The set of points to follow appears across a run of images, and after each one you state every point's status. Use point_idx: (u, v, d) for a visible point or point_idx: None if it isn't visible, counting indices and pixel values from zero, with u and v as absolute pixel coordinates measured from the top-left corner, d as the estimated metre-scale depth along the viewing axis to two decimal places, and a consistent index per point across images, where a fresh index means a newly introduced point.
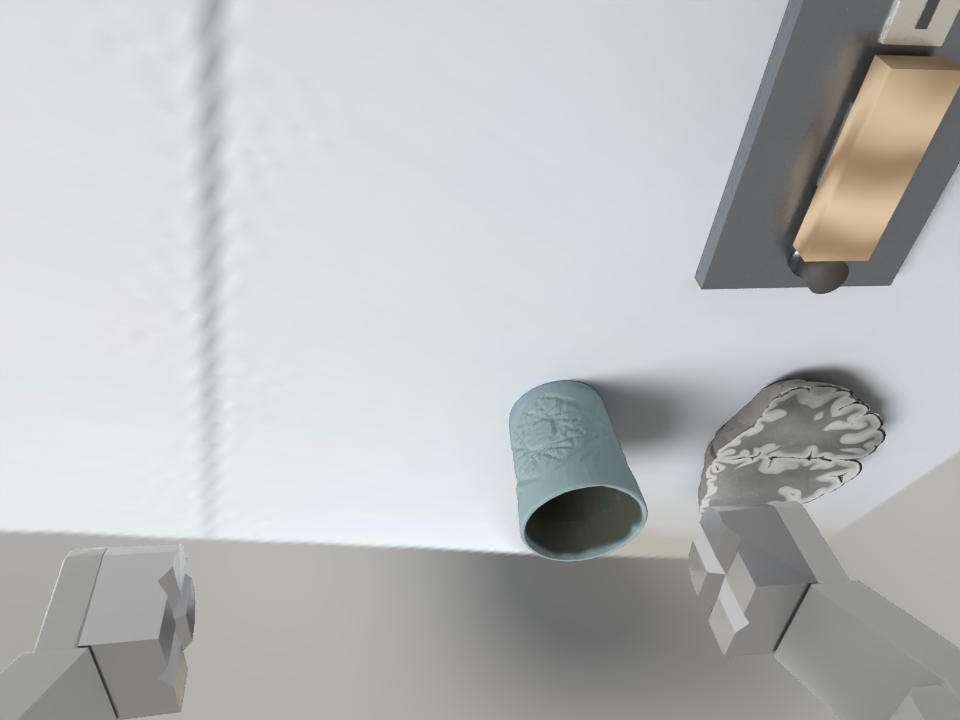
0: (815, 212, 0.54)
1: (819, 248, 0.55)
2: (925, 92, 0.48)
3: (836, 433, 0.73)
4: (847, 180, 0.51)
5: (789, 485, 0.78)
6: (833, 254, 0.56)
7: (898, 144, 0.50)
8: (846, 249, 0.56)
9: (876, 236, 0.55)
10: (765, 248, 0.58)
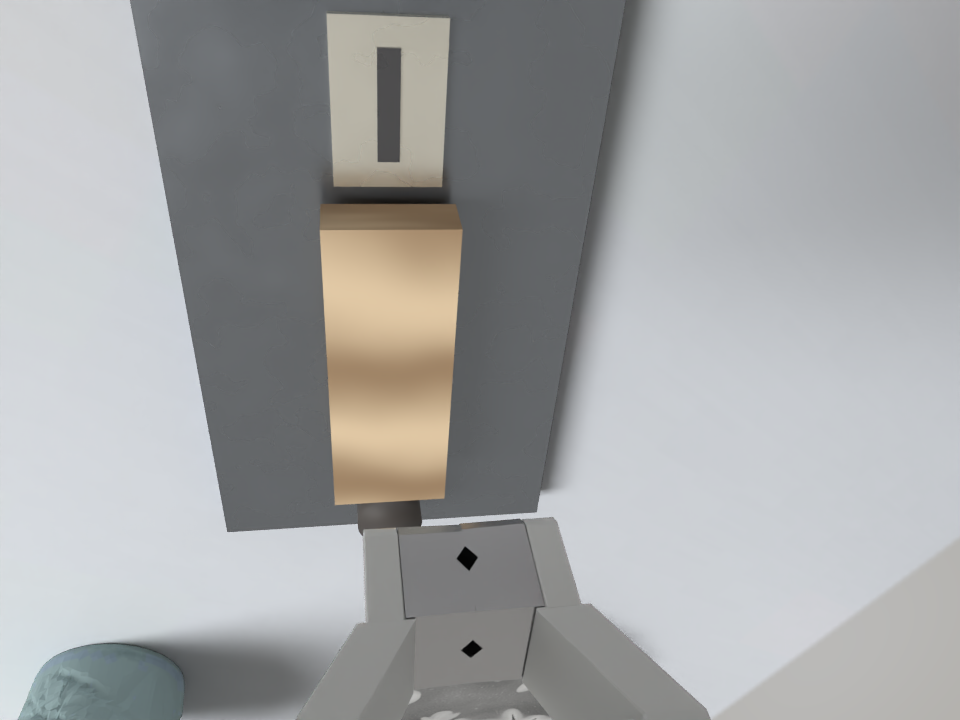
0: None
1: (348, 487, 0.35)
2: (403, 263, 0.29)
3: None
4: (340, 395, 0.32)
5: None
6: (379, 493, 0.36)
7: (400, 341, 0.31)
8: (396, 486, 0.36)
9: (438, 467, 0.35)
10: (302, 476, 0.38)
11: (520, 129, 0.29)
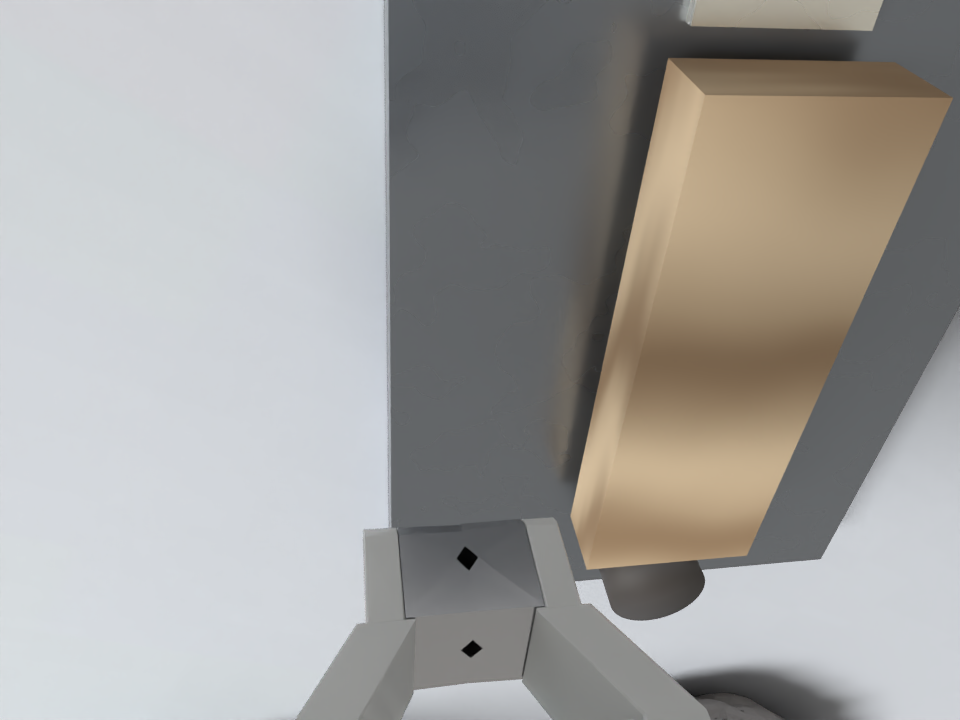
0: (595, 461, 0.22)
1: (614, 543, 0.22)
2: (827, 166, 0.15)
3: None
4: (646, 402, 0.19)
5: None
6: (655, 551, 0.23)
7: (770, 310, 0.18)
8: (685, 540, 0.23)
9: (755, 511, 0.22)
10: None
11: None
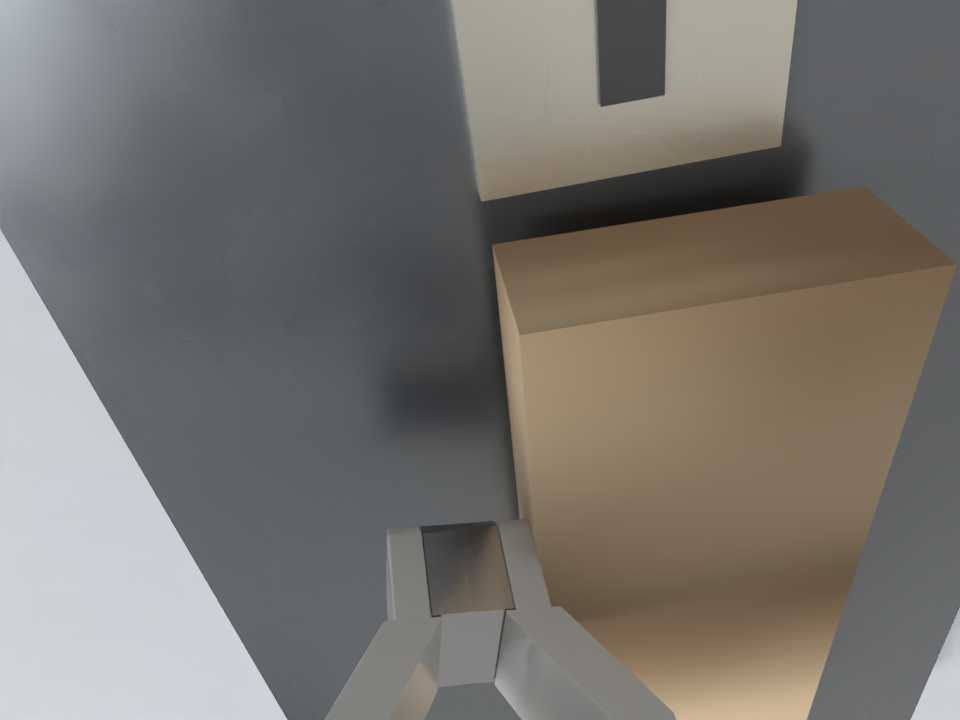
0: None
1: None
2: (761, 387, 0.10)
3: None
4: None
5: None
6: None
7: (727, 563, 0.12)
8: None
9: None
10: None
11: None
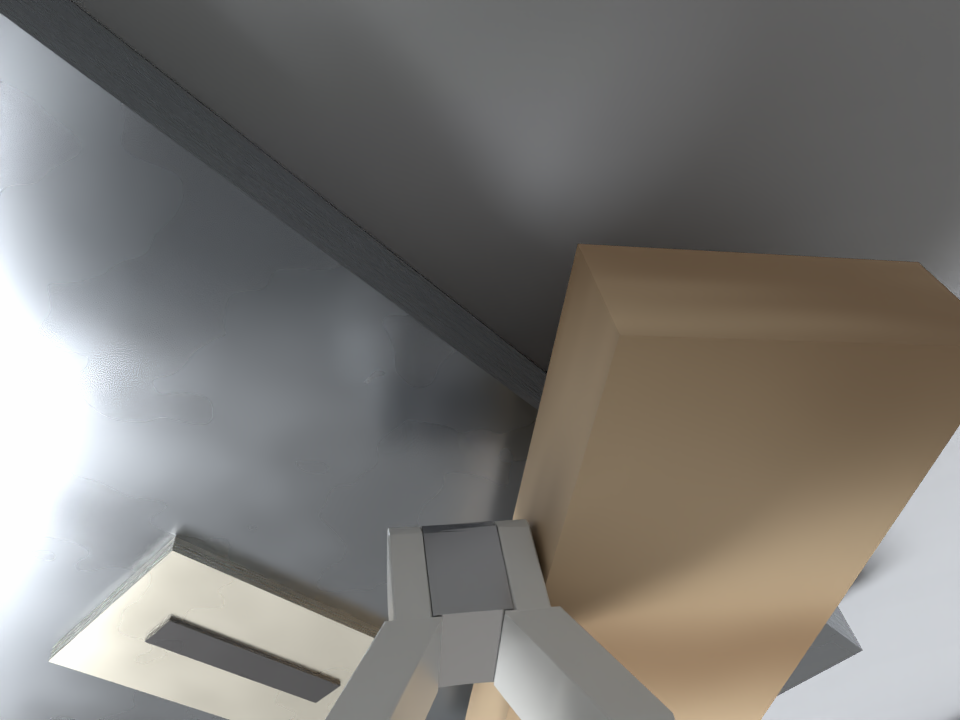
0: None
1: None
2: (812, 430, 0.10)
3: None
4: None
5: None
6: None
7: (719, 597, 0.12)
8: None
9: None
10: None
11: None
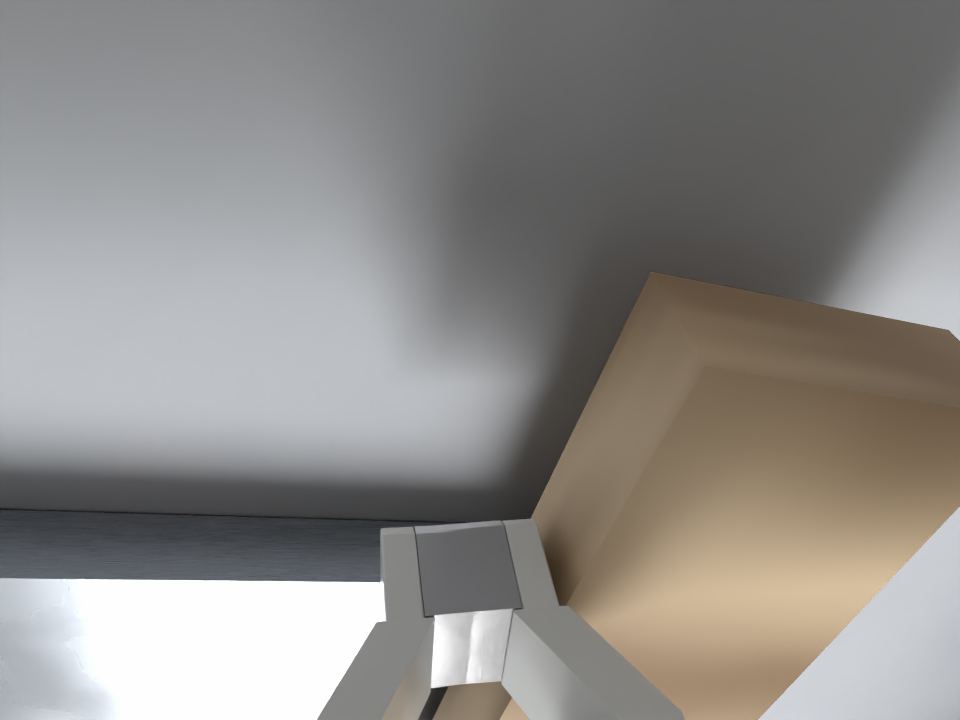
0: None
1: None
2: (849, 477, 0.10)
3: None
4: None
5: None
6: None
7: (723, 630, 0.12)
8: None
9: None
10: None
11: None
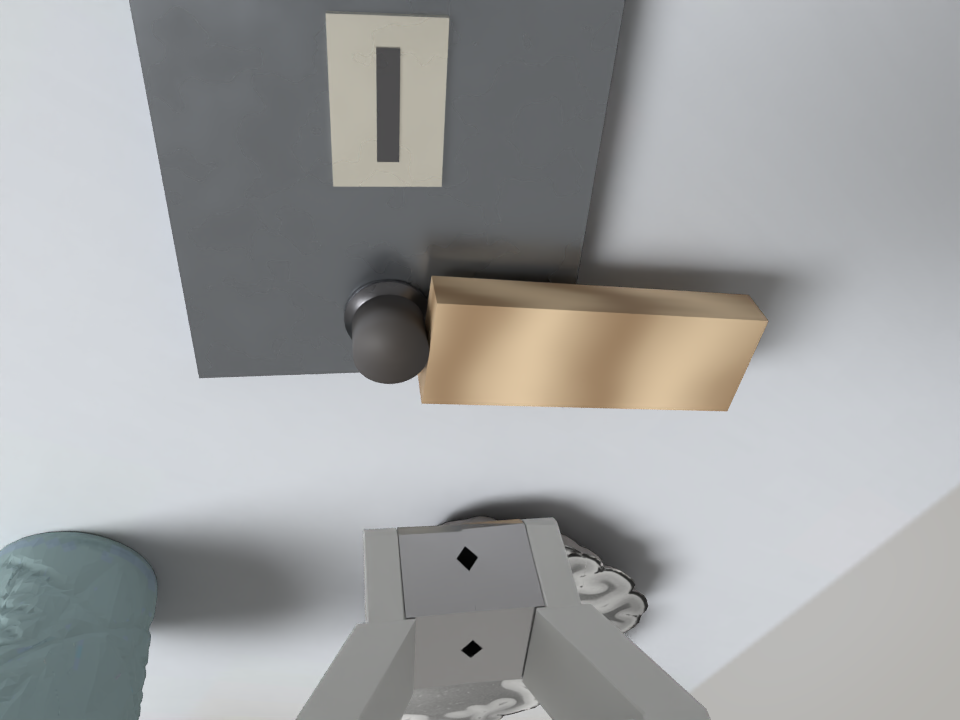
0: (517, 292, 0.31)
1: (463, 318, 0.30)
2: (714, 374, 0.34)
3: None
4: (596, 321, 0.31)
5: None
6: (445, 346, 0.31)
7: (640, 370, 0.33)
8: (453, 362, 0.32)
9: (472, 398, 0.33)
10: (287, 303, 0.32)
11: None
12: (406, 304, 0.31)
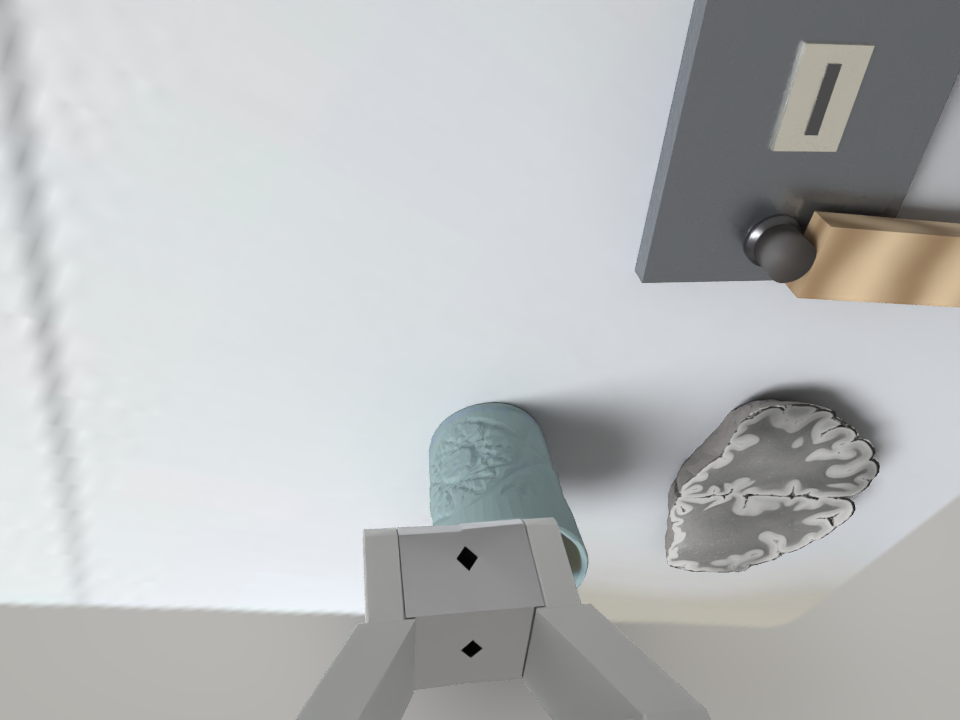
0: (870, 222, 0.48)
1: (842, 237, 0.47)
2: None
3: (821, 465, 0.62)
4: (921, 241, 0.48)
5: (771, 529, 0.67)
6: (825, 256, 0.48)
7: (938, 276, 0.50)
8: (826, 268, 0.48)
9: (829, 294, 0.50)
10: (714, 230, 0.49)
11: None
12: (797, 230, 0.48)
